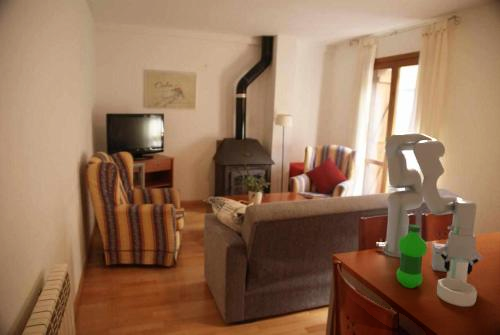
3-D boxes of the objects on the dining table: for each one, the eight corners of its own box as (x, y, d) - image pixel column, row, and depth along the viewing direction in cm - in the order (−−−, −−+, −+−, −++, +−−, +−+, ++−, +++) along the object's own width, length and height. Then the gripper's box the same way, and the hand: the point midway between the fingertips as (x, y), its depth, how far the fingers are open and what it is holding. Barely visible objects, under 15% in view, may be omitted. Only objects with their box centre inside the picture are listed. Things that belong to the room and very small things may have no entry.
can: (451, 276, 146) (454, 250, 145) (469, 283, 141) (472, 255, 139) (443, 280, 143) (446, 253, 141) (460, 287, 137) (464, 259, 135)
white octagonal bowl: (440, 302, 126) (441, 290, 125) (434, 286, 137) (435, 275, 137) (479, 309, 122) (480, 297, 121) (469, 292, 133) (471, 281, 133)
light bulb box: (456, 267, 155) (459, 245, 153) (460, 274, 149) (463, 251, 147) (430, 264, 158) (432, 242, 157) (432, 270, 152) (435, 247, 150)
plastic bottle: (390, 278, 144) (395, 221, 140) (416, 279, 143) (421, 222, 139) (400, 290, 134) (406, 230, 130) (427, 291, 133) (434, 230, 129)
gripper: (440, 230, 137) (435, 271, 140) (490, 236, 132) (484, 279, 134) (436, 225, 144) (432, 264, 147) (484, 230, 139) (479, 271, 141)
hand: (457, 271), depth 141 cm, fingers closed on can, 7 cm apart
